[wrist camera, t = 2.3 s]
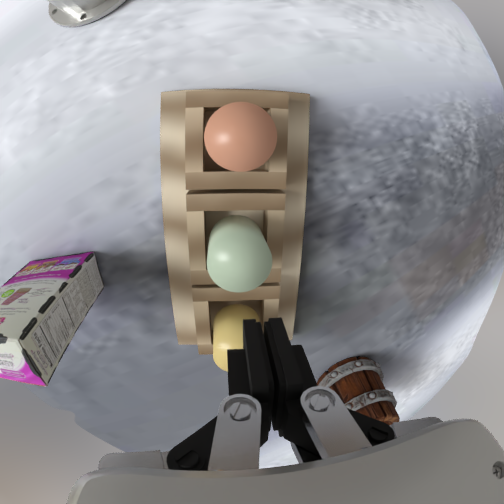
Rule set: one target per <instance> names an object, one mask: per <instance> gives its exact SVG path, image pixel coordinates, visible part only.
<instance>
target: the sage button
mask: <svg viewBox="0 0 504 504" xmlns="http://www.w3.org/2000/svg"><path fill="white" fill-rule="evenodd" d="M271 268H272V255H271V251H270V249H269V247H268V245H267V243H266V241H265V239H264V236H263V234H262V232H261V230H260V228H259V226H258V225H257V224H256V223H255V222H254V221H253V220H251V219H250V218H248V217H245V216H241V215H231V216H228V217H225V218H223V219H221V220H220V221H219V222H217V223H216V224H215V226H214V227H213V229H212V231H211V233H210V237H209V245H208V255H207V269H208V273H209V275H210V277H211V279H212V280H213V281H214V282H215V283H216V284H217V285H218V286H219V287H221V288H223V289H225V290H227V291H231V292H247V291H250V290H253V289H255V288H257V287H258V286H260V285H261V284H262V283H263V282H264V281H265V280H266V279H267V277H268V276H269V274H270V271H271Z"/></svg>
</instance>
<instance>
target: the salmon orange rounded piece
mask: <svg viewBox="0 0 504 504" xmlns="http://www.w3.org/2000/svg"><path fill="white" fill-rule="evenodd" d="M204 142H205V146H206V149H207V152H208V154H209V155H210V157H211V158H212V159H213V160H214V161H215V162H216V163H217V164H218V165H220V166H221V167H223V168H225V169H228V170H231V171H236V172H245V171H250V170H253V169H256V168H258V167H260V166H261V165H263V164H264V163H265V162H266V161H267V160H268V159H269V158H270V157H271V155H272V154H273V152H274V150H275V147H276V143H277V130H276V126H275V123H274V121H273V119H272V118H271V116H270V115H269V114H268V113H267V112H266V111H265V110H264V109H262V108H261V107H259V106H257V105H255V104H252V103H248V102H233V103H230V104H227V105H224V106H222V107H221V108H219V109H218V110H217V111H215V112H214V114H213V115H212V116H211V117H210V119H209V120H208V122H207V125H206V127H205V132H204Z"/></svg>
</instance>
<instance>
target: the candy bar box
mask: <svg viewBox="0 0 504 504" xmlns="http://www.w3.org/2000/svg"><path fill="white" fill-rule="evenodd" d="M103 288H104V285H103V281H102V278H101V275H100V272H99V269H98V265H97V261H96V257H95V254H94V252H87V253H81V254H75V255H68V256H62V257H56V258H49V259H43V260H37V261H30V262H29V263H28V264H27V265H25V266H24V267H23V268H22V269H21V270H20V271H18V272H17V273H16V274H15V275H14V276H13V277H12V278H10V279H9V280H8V281H7V282H6V283H5V284H4V285H3V286H1V287H0V378H4V379H9V380H13V381H18V382H23V383H28V384H34V385H39V386H45V387H47V386H48V383H49V381H50V379H51V377H52V375H53V373H54V371H55V369H56V367H57V366H58V363H59V362H60V360H61V358H62V356H63V354H64V352H65V351H66V349H67V347H68V345H69V344H70V342H71V340H72V338H73V336H74V334H75V332H76V331H77V329H78V328H79V326H80V324H81V323H82V321H83V320H84V318H85V316H86V315H87V313H88V311H89V310H90V308H91V307H92V305H93V303H94V302H95V300H96V299H97V297H98V296H99V294H100V293H101V291H102V290H103Z"/></svg>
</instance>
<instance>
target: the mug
mask: <svg viewBox="0 0 504 504" xmlns="http://www.w3.org/2000/svg"><path fill="white" fill-rule="evenodd" d="M383 377H384V376H383V374H382V371H381V369H380V367H379V363H376V362H374V361H373V360H371V359H369V358H367V357H358V359H357V358H356V357H352V358H347V359H345V360H343V361H340V362H338V363H336V364H335V365H333V366H332V367H330V368H329V369H328V372H324V373H323V375H322V376H321V377H320V378H319V380H318V382H317V386H322V387H327V388H330V389H332V390H333V391H335V392H336V393H337V395H338V396H339V397H340V399H341V400H342V402H343V403H344V405H345V406H346V408H349V409H351V410H353V411H356V412H358V413H361V414H363V415H366V416H369V417H371V418H374V419H376V420H379V421H382V422H384V423H386V424H388V425H392V424H393V422H399V419H400V418H399V416H398V414H397V412H396V410H395V407H396V404H397V402H396V400H395V398H394V396H393V393H392V392H390V391H388V390H386V389H385V387H384V385H383V383H382V380H383Z"/></svg>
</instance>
